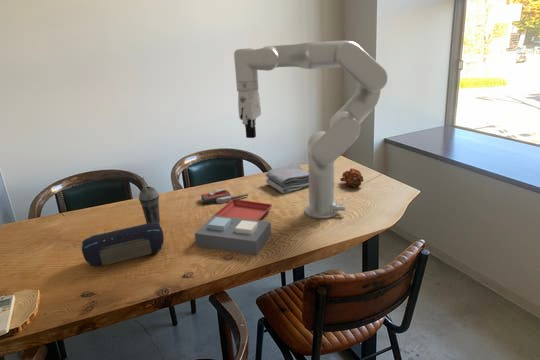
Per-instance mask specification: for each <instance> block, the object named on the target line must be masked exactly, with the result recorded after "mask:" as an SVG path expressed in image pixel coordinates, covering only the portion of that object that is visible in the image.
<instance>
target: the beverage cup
mask: <svg viewBox="0 0 540 360" xmlns="http://www.w3.org/2000/svg"><path fill="white" fill-rule="evenodd" d="M142 181H143V185H144V187H143V188H142V189H141V190H140V191H139V194H138V201H139V204H140V205H141V208H142V213H143V215H144V219H145V221H146V223H145V224H147V223H156V224H160V225H161V221H160V218H161V217H160V205H159V203H160V202H159V201H160V196H159V193H158V191H157V190H156V188H154V187H152V186H147V183H146V180H145V177H144V176H142Z"/></svg>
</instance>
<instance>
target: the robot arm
mask: <svg viewBox="0 0 540 360" xmlns="http://www.w3.org/2000/svg"><path fill="white" fill-rule="evenodd" d="M233 59H234V70H235V71H234V72H235V82H236V92H237V95H238V96H237V97H238V98H237V100H238V104H237V108H238V109H237V110H238V118H239V120H241V121H242V124H243V125H244V128H245V137H246V139H254V138H256V137H257V132H256V125H257V123H256V119H257V118H258V117H260V116H261V114H262V110H261V107H262V106H261V101H260V100H261V99H260V94H259V76H258V75H259V74H258V71H268V72H269V71H273V70H274V69H276V68H289V67H290V68H292V67H293V68H301V69H306V70H307V69H309V70H315V69H331V68H332V69H333V68H342V69H343V70H344V71H345V72H346V73H347V74H348V75H349V76H350V77H351V78H353V80H354V81H356V82H357V85H356V90H355V92H354V94H353V95H352V96H351V98H349V100H348V101H347V102H346V103H345V104H344V105H342V107H341V108H340V109H339V110H337V112H335V113H334V114H333V116H332V117H331V118H330V121H329V128H328V129H327V130H326V131H323V130H321V131H320V130H319V131H316V132H313V133H312V134H311V135H310V136H309V138H308V141H307V149H306V150H307V164H308V172H309V186H308V205H306V207H304V208H305V209H304V210H305V214H306V215H307V216H309V217H311V218H314V219H324V220H325V219H329V218H332V217H335V216H337V215H338V212H339V211H340V212H345V211H346V205H344V203H337V199H335V161H336V160H338V158H340V157H341V156H342V155H343V154H344V153H345V152H346V151H347V150H348V149H349V148H350V147H351V146H352V145H353V144H354V143H355V142H356V141H357V139H358V138H359V136H360V134H361V129H362V128H361V123H362V122H363V121H364V120H365V119H366V118H367V117H368V115H370V113H371V112H373V111H374V109H375V107H377V104H378V101H379V99H380V96H381V91H382V90H383V89H384V88H385V86H386V84H387V82H388V73H387V71H386V69H385V68H384V67H383V66H382V65H381V64H380V63H378V61H376V60H375V59H374V58H373V57H372V56H371V55H369V53H368V52H366V51H365V49H363V47H361V46H360V45H359V44H358V43H357V42H355V41H351V40H333V41H332V40H330V41H329V40H328V41H318V42H316V41H315V42H313V41H311V42H302V43H297V44H294V43H293V44H283V45H282V44H280V45H279V44H278V45H266V46H263V47H262V48H256V49H254V48H252V47H251V48H247V47H246V48H238V49H236V50H234V52H233Z"/></svg>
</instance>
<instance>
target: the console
mask: <svg viewBox="0 0 540 360" xmlns="http://www.w3.org/2000/svg"><path fill="white" fill-rule="evenodd" d="M213 215H214V214H213ZM213 215H212V216H213ZM212 216H211V217H212ZM211 217H210V219H209V220H207V221H206V222H205V223H204V224H203V225H202V226H201V227H200V228H199V229H197V230H196V231H195V232H194V238H195V245H196V247H197V248H199V247H200V248H205V249H212V250H218V251H225V252H233V253H240V254H247V255H255V256H258V254H259V253H260V252H261V250H262V249H263V247H264V246H265V245H266V243H267V242H268V240H269V239H270V237H271V236H272V222H271V221H266V220H250V219H241V218H232V217H223V216H215V215H214V216H213V217H212V218H211ZM215 217H220V218H229V219H231V225H230V226H229V227H228V228H227V229H226V231H218V230H210V229H209V227H208V224H209V223H210V222H211V221H212V220H213V219H214V218H215ZM242 220H244V221H252V222H258V228H257V230H256V231H255V232H254V234H253V235H249V234H241V233H236V232H235V228H236V227H237V225H238V224H239V223H240V222H241V221H242Z"/></svg>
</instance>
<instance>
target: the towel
mask: <svg viewBox="0 0 540 360" xmlns="http://www.w3.org/2000/svg"><path fill="white" fill-rule="evenodd" d="M265 177H266V178H267V179H266V181H265V182H266V183H267V184H268V185H269V186H270V187H272V188H274V189H276V190H277V191H278V192H280V193H281V194H287V193H292V192H294V191H298V190H300V189H303V187H304V188H307V187H309V170H306V169H304V168H302V167H301V165H299V164H298V163H297V162H295V163H292V164H289V165H284V166H280V167H277V168H272V169H270V170H269V171H267V173H265Z"/></svg>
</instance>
